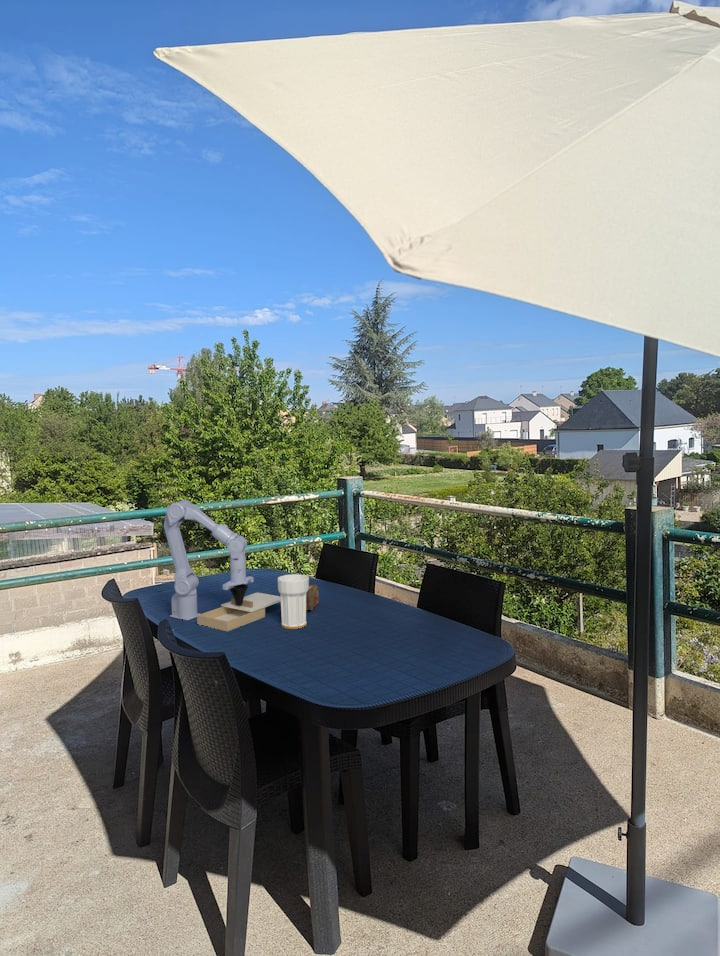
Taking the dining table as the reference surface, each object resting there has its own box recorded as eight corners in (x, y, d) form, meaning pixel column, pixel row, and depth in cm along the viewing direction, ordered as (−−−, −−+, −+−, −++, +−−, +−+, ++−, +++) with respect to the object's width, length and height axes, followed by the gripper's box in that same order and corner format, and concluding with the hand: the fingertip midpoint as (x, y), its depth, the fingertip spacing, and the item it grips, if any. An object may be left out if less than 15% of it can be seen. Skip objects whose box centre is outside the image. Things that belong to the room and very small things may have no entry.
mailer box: (197, 624, 239) (197, 615, 239) (235, 610, 256) (235, 602, 256) (227, 631, 231) (227, 621, 231) (265, 616, 248) (264, 607, 247)
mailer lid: (221, 606, 249) (220, 599, 249) (257, 593, 266) (257, 587, 266) (251, 612, 241) (251, 605, 241) (287, 599, 258) (287, 592, 258)
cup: (271, 625, 237) (270, 578, 236) (295, 618, 246) (294, 572, 244) (292, 632, 230) (291, 583, 228) (316, 624, 238) (315, 577, 236)
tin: (310, 613, 252) (309, 591, 251) (302, 613, 253) (301, 591, 252) (320, 602, 267) (319, 582, 266) (312, 602, 267) (312, 581, 266)
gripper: (232, 574, 237) (233, 611, 238) (259, 566, 249) (260, 601, 250) (218, 571, 241) (219, 608, 242) (245, 564, 253) (246, 598, 254)
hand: (239, 604), depth 246 cm, fingers closed
